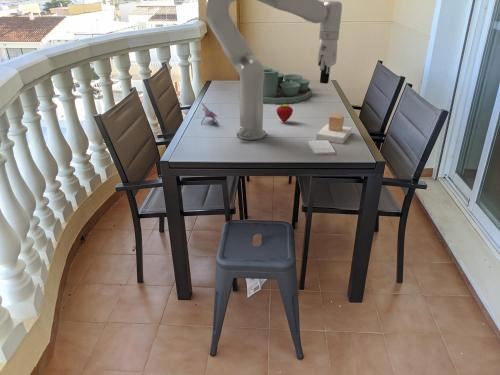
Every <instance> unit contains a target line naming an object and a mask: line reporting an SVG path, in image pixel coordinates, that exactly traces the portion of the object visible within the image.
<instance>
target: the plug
mask: <svg viewBox="0 0 500 375" xmlns="http://www.w3.org/2000/svg"><path fill="white" fill-rule="evenodd" d="M344 119H345V116H344V115H340V114H331V115H330V116H329V119H328V120H329V121H328V124H329V129H328V130H332V131H341V130H342V129H343V126H344Z"/></svg>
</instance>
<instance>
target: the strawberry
mask: <svg viewBox="0 0 500 375" xmlns="http://www.w3.org/2000/svg"><path fill="white" fill-rule="evenodd" d="M293 112H294V110H293V108H292V106H291V104H289V103H286V104H284V103H283V104H280V105H279V106H278V107H277V108H276V114H277V116H278V117H279V119H280V120H281V121H282V123H286V122H287V121H288V120H289V119H290V118H291V117H292V115H293Z"/></svg>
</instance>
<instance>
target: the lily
mask: <svg viewBox="0 0 500 375" xmlns="http://www.w3.org/2000/svg"><path fill="white" fill-rule="evenodd" d="M198 101H199V100H198ZM199 103H201V105H202V106H203V108H202V111H204V116H203V119H202V120H201V123H200V125H202V124H203V122H204V120H205V118H206V117H207V118H211V119H212V120H214V121H215V122H218V121H217V119H216V118H217V117H218V115H216V114H215V113H214V112H213V111H212V110H209V108H208V107H207V106H205V104H204V103H203V102H201V101H199Z"/></svg>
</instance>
